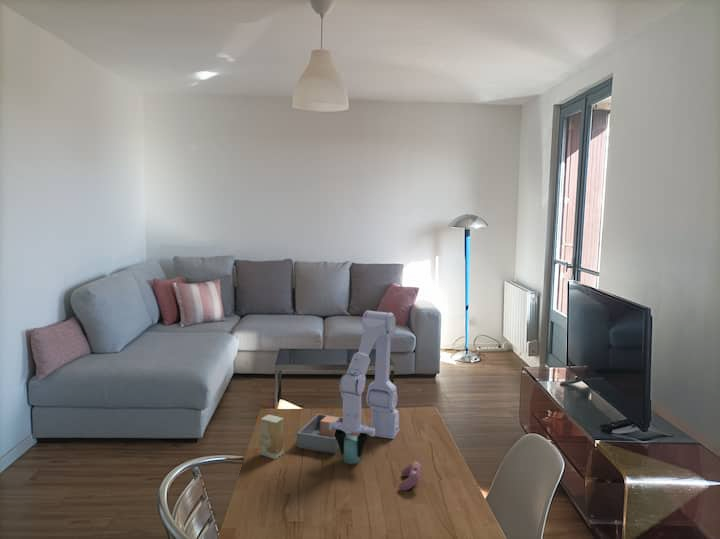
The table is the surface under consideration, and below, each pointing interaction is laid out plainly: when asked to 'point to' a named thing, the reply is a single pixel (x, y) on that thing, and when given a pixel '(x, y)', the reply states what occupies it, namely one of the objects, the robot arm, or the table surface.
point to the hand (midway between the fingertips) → (351, 454)
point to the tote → (317, 437)
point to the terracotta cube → (327, 426)
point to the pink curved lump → (410, 476)
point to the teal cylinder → (351, 450)
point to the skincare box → (272, 436)
